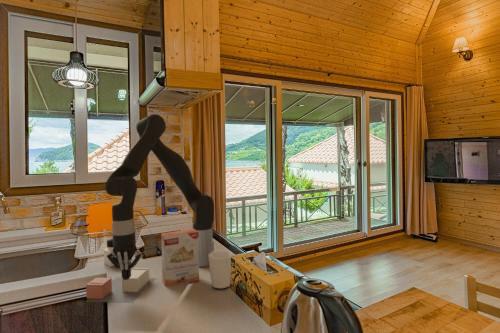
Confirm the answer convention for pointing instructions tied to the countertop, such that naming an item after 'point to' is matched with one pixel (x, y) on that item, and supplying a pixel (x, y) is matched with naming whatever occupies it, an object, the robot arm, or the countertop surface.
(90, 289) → the stub
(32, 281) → the countertop surface
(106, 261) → the medicine bottle
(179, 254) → the cracker box
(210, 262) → the cup
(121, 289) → the white piece
